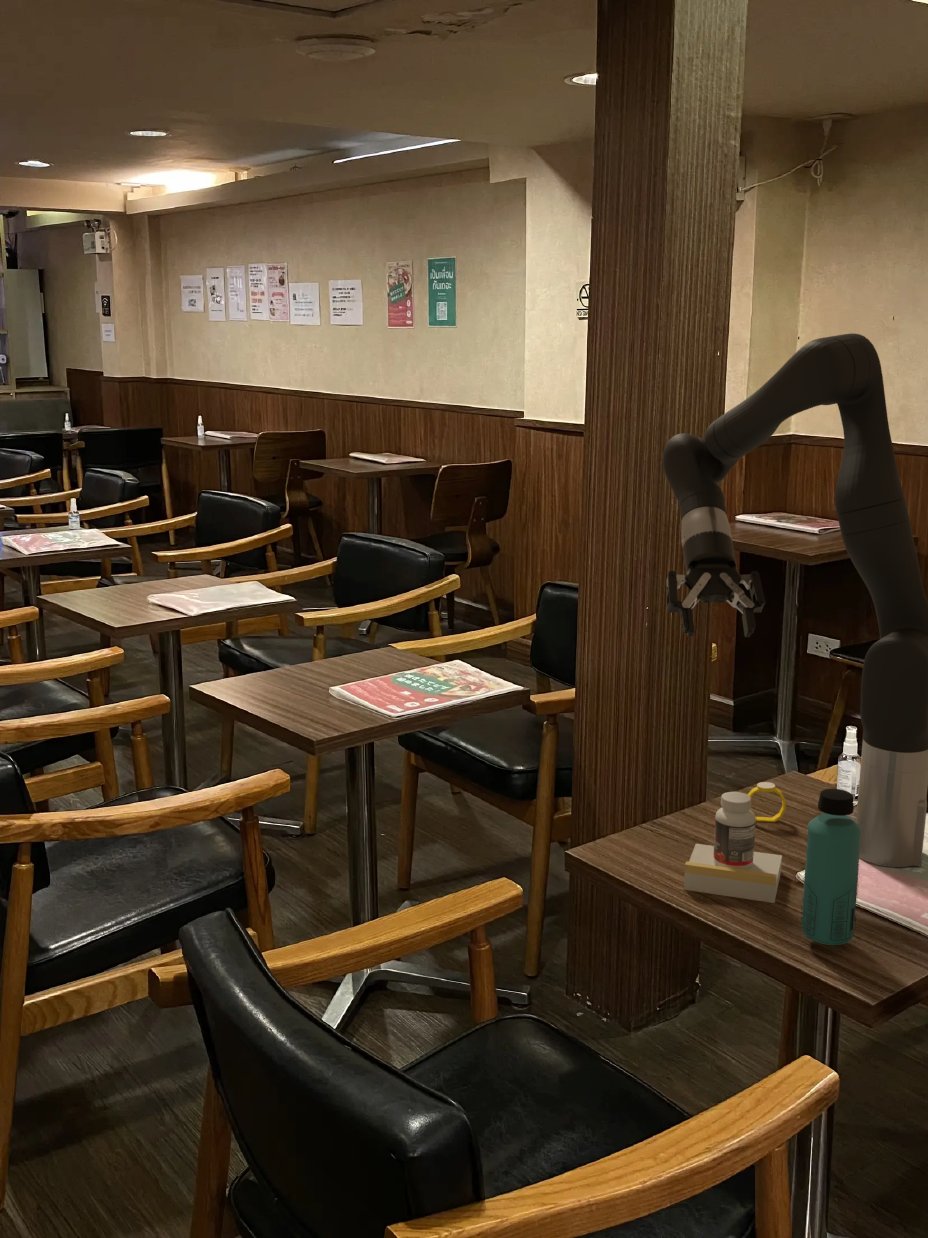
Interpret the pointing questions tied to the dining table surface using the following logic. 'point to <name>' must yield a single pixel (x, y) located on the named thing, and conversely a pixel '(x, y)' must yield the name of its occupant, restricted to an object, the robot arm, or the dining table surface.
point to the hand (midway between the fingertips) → (720, 634)
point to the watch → (769, 788)
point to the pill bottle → (734, 832)
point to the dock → (733, 876)
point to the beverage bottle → (831, 871)
